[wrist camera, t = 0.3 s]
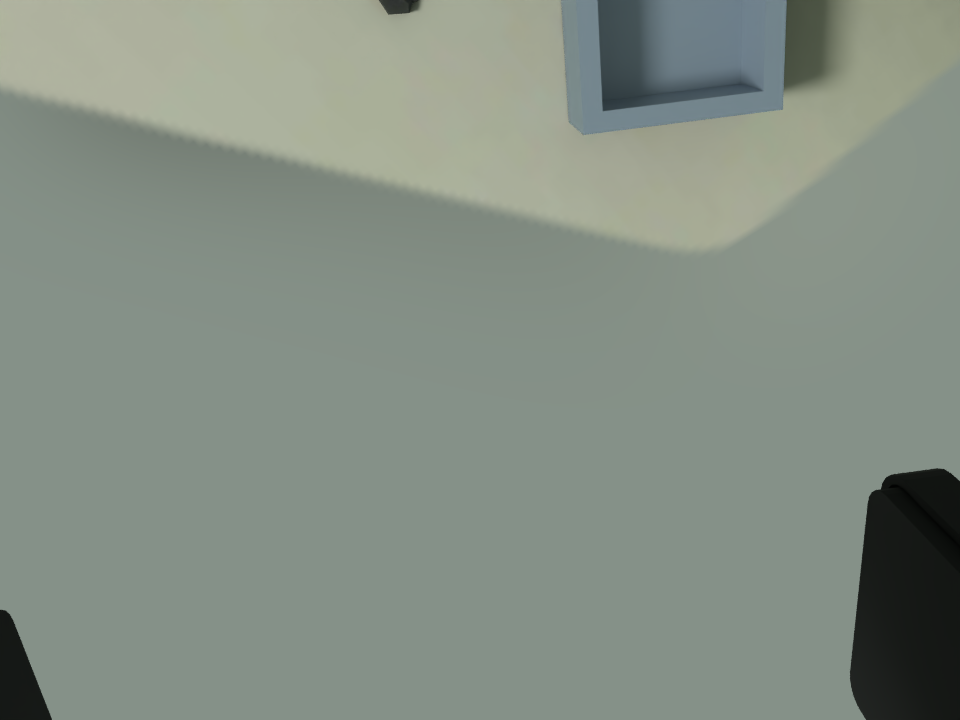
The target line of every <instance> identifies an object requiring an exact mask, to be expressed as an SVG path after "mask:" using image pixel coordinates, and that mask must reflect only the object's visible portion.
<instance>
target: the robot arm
mask: <svg viewBox="0 0 960 720" xmlns="http://www.w3.org/2000/svg"><path fill="white" fill-rule="evenodd" d="M850 681H851V688H852V692H853V695H854V698H855V700H856V703H857V705H858V707H859V709H860V711H861V712H862V714H863V715H864V717H865V719H866V720H960V481H959V480H958V479H957V478H956V477H954V476H953V475H952V474H951V473H949V472H948V471H946V470H945V469H938V468H937V469H930V470H922V471H915V472H908V473H900V474H893V475H890V476H888V477H886V478H885V480H884V482H883V483H882V487H881V490H875V491H873V492H872V493H871V495H870V496H869V501H868V506H867V516H866V525H865V535H864V545H863V554H862V564H861V573H860V583H859V592H858V602H857V611H856V622H855V631H854V640H853V650H852V659H851V670H850ZM0 720H52V718H51V716H50V713H49V711H48V708H47V706H46V703H45V700H44V698H43V696H42V693H41V690H40V688H39V685H38V683H37V680H36V678H35V675H34V672H33V670H32V667H31V665H30V662H29V660H28V657H27V655H26V652H25V649H24V647H23V644H22V642H21V639H20V637H19V635H18V632H17V629H16V627H15V624H14V622H13V619H12V618H11V616H10V614H9V613H7V611H5V610H0Z"/></svg>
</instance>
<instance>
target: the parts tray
mask: <svg viewBox="0 0 960 720" xmlns="http://www.w3.org/2000/svg"><path fill="white" fill-rule="evenodd" d="M561 4H562V20H563V36H564V52H565V68H566V84H567V100H568V116H569V123H570V124H572V125H573V126H574V127H575V128H576V129H577V130H579V131H580V132H581V133H582V134H583V135H586V134H594V133H602V132H609V131H617V130H625V129H633V128H641V127H649V126H657V125H665V124H672V123H680V122H688V121H696V120H704V119H712V118H720V117H728V116H735V115H743V114H751V113H759V112H767V111H775V110H783V90H784V61H785V33H786V5H787V0H561Z"/></svg>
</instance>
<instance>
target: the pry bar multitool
mask: <svg viewBox="0 0 960 720" xmlns="http://www.w3.org/2000/svg"><path fill="white" fill-rule="evenodd" d="M379 1H380V2H381V4H382V6H383V7H384V9H385V10H386V12H387V13H388V14H402V13H410V9H411V5H412V4H413V3H414V2H416V1H418V0H379Z"/></svg>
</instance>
